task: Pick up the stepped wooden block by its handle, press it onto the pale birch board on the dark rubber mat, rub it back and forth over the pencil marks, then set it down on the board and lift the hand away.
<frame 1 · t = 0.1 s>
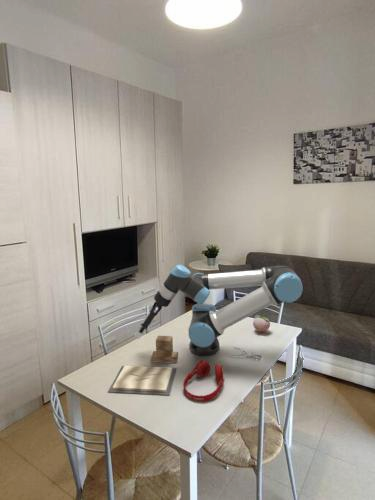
hand: (140, 330, 153), 15 cm above the table, tool tilted 35°, fingers open, 13 cm apart
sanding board: (143, 380, 140), on the table
headphones: (204, 387, 135), on the table
decorative fruit: (261, 332, 182), on the table
pliers: (245, 356, 158), on the table
stepped wooden block: (165, 359, 156), on the table
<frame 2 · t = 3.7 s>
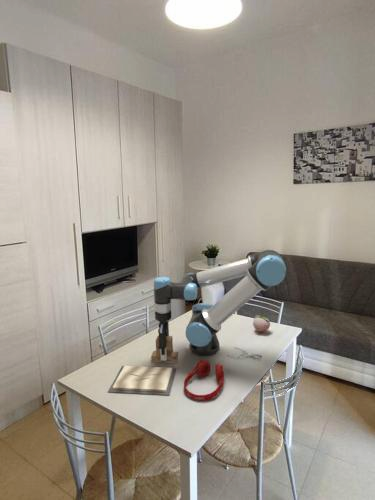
hand: (164, 356, 156), 1 cm above the table, tool pointing down, fingers closed on stepped wooden block, 5 cm apart
stepped wooden block: (164, 359, 156), on the table, touching gripper
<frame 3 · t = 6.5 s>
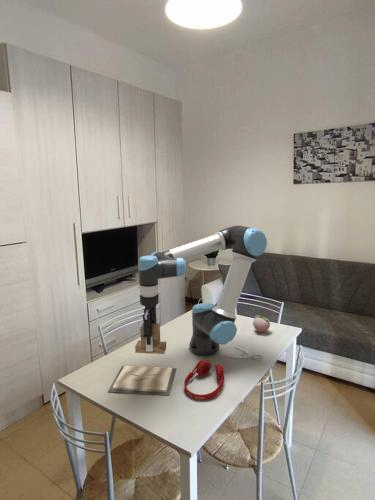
hand: (151, 347, 137), 15 cm above the table, tool pointing down, fingers closed on stepped wooden block, 5 cm apart
stepped wooden block: (151, 350, 137), point 14 cm above the table, touching gripper
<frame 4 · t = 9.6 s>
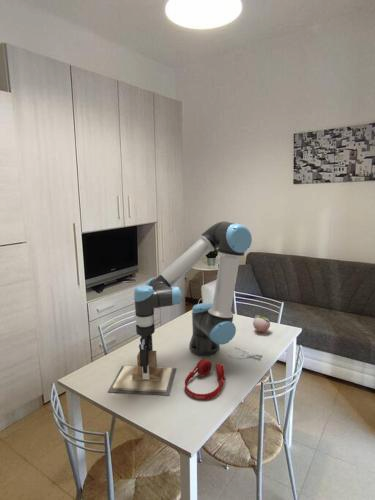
hand: (147, 374, 139), 3 cm above the table, tool pointing down, fingers closed on stepped wooden block, 5 cm apart
stepped wooden block: (147, 377, 139), point 2 cm above the table, touching gripper
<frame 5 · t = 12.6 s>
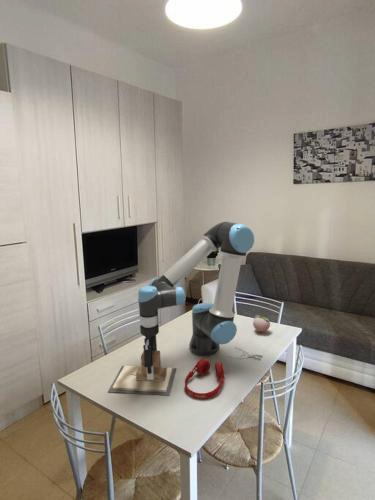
hand: (152, 375, 139), 2 cm above the table, tool pointing down, fingers closed on stepped wooden block, 5 cm apart
stepped wooden block: (151, 377, 139), point 2 cm above the table, touching gripper
when the fingers open (3 cm above the table, at t = 15.4 s): stepped wooden block stays where it is, resting on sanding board.
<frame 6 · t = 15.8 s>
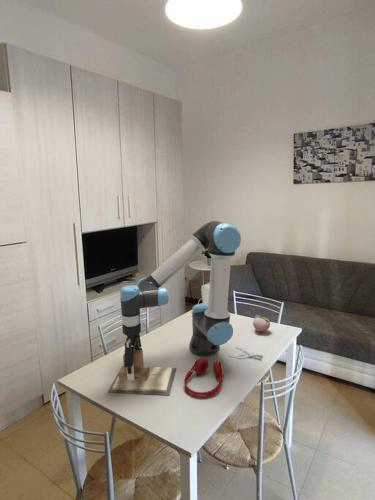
hand: (134, 372, 140), 4 cm above the table, tool pointing down, fingers open, 10 cm apart
stepped wooden block: (134, 376, 140), point 1 cm above the table, touching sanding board
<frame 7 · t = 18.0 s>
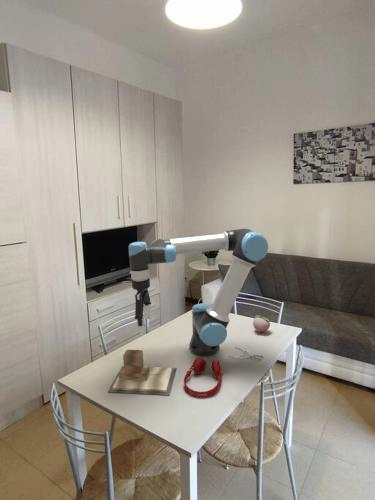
hand: (144, 325, 143), 21 cm above the table, tool pointing down, fingers open, 13 cm apart
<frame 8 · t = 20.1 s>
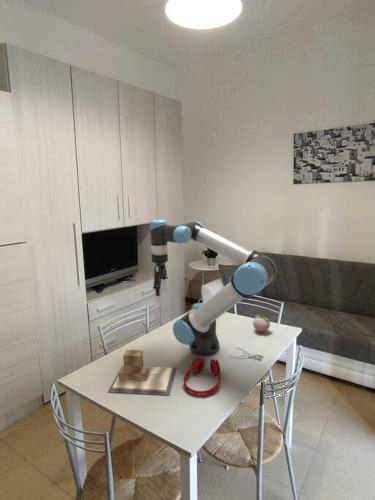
hand: (161, 296, 157), 29 cm above the table, tool pointing down, fingers open, 13 cm apart
at the end: stepped wooden block inside the target area (1.1 cm from its centre), point 1.5 cm above the table; stepped wooden block tilted 0°; the gripper is holding nothing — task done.
